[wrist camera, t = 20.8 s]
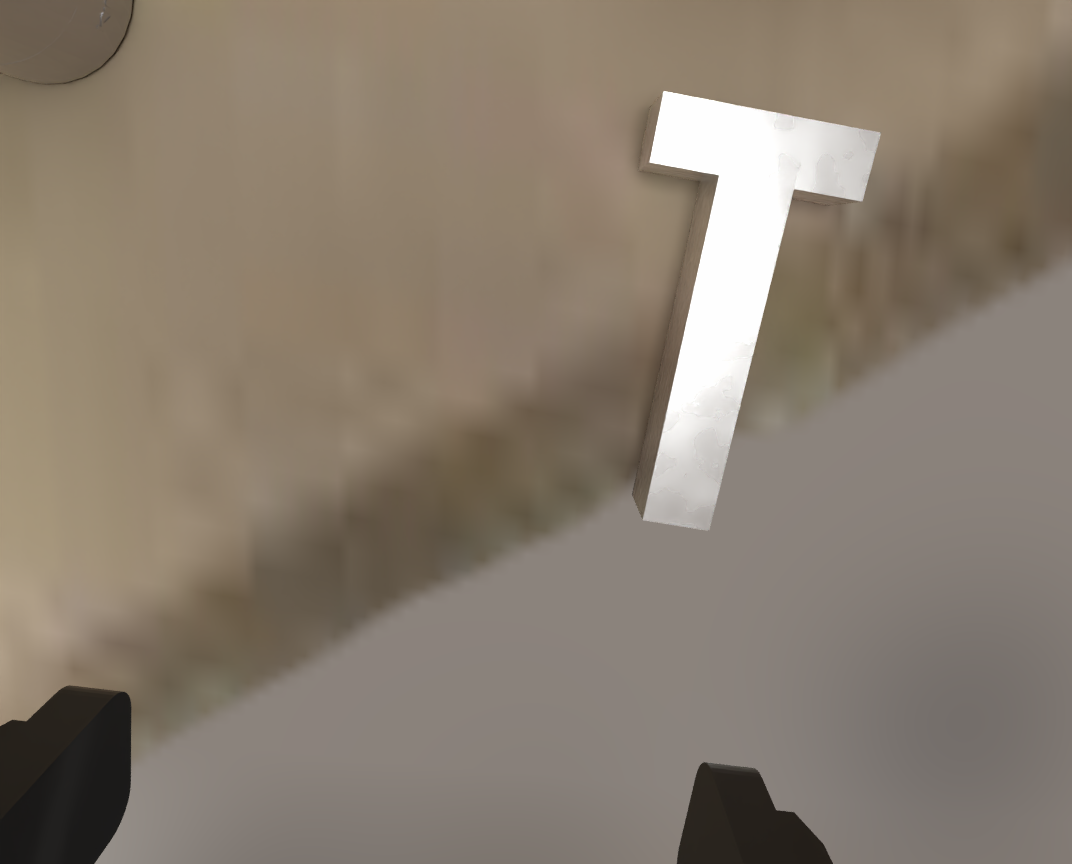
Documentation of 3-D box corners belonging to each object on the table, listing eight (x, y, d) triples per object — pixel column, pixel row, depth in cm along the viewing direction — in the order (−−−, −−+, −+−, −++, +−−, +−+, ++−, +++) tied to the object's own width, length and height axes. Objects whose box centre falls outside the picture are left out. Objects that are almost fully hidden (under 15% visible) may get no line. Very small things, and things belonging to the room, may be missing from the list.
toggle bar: (747, 512, 42) (770, 540, 38) (575, 485, 41) (580, 510, 37) (843, 144, 37) (880, 132, 33) (649, 107, 36) (663, 91, 32)
